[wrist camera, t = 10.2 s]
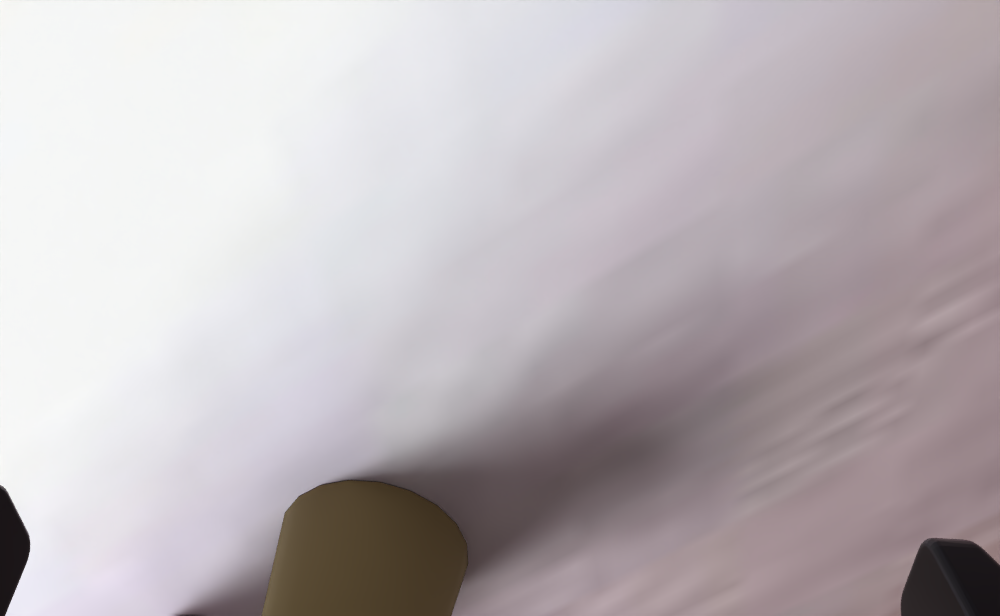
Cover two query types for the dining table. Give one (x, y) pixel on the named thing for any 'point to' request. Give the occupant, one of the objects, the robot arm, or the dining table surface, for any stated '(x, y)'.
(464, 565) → the olive drink cup
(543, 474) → the dining table surface
